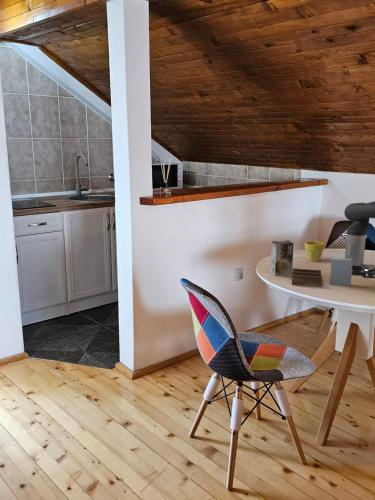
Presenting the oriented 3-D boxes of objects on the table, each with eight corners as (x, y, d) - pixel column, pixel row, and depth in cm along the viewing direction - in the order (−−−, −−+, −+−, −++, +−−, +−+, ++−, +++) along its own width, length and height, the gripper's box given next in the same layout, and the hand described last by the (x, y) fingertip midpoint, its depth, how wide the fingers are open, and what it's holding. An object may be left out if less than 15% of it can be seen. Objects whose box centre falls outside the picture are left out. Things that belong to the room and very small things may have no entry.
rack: (292, 277, 226) (292, 268, 225) (320, 279, 223) (320, 270, 222) (291, 284, 215) (292, 275, 214) (321, 286, 212) (321, 277, 211)
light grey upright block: (329, 282, 218) (331, 257, 216) (349, 284, 216) (352, 258, 214) (329, 284, 215) (331, 259, 213) (350, 286, 213) (352, 260, 211)
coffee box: (287, 271, 236) (289, 240, 233) (292, 275, 230) (294, 242, 226) (270, 272, 235) (271, 240, 231) (274, 276, 229) (276, 243, 225)
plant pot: (301, 258, 263) (302, 240, 261) (320, 258, 263) (321, 240, 261) (306, 262, 253) (308, 245, 251) (326, 262, 253) (327, 245, 251)
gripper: (387, 260, 215) (350, 258, 219) (393, 268, 202) (353, 266, 206) (385, 276, 217) (348, 273, 221) (391, 285, 204) (351, 282, 207)
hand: (351, 270), depth 213 cm, fingers open, 8 cm apart
